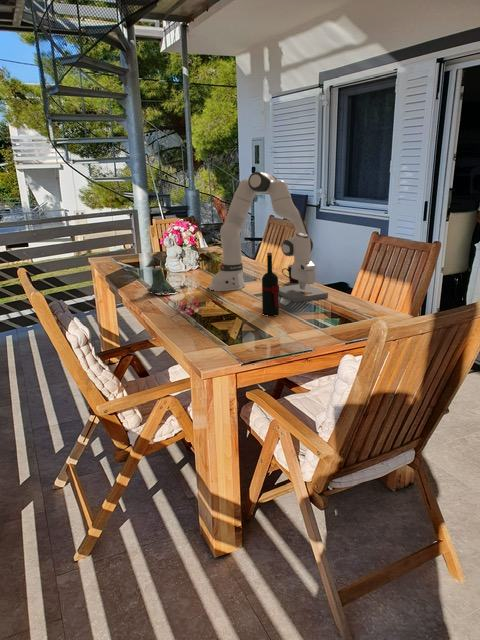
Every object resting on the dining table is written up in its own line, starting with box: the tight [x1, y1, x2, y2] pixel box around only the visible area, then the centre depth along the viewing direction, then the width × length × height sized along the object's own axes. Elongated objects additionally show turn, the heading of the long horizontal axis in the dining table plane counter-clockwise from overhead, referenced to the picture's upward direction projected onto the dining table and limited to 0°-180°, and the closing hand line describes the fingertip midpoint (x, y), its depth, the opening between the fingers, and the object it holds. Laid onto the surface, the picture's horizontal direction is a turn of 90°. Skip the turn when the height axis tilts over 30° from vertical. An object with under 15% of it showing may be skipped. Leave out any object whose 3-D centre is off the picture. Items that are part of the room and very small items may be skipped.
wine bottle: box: [261, 252, 280, 317], centre depth 227 cm, size 8×10×30 cm
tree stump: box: [146, 266, 178, 294], centre depth 279 cm, size 18×20×18 cm
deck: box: [278, 283, 329, 303], centre depth 265 cm, size 20×25×2 cm
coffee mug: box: [281, 264, 299, 284], centre depth 294 cm, size 12×9×10 cm
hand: (302, 289), depth 262 cm, fingers closed
